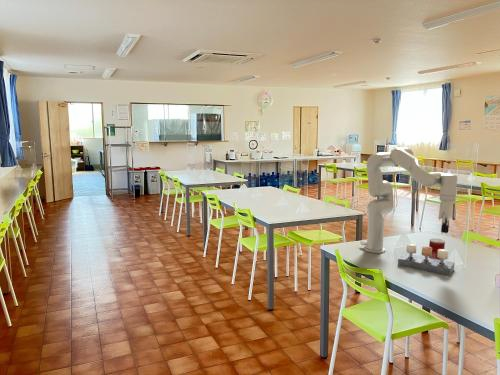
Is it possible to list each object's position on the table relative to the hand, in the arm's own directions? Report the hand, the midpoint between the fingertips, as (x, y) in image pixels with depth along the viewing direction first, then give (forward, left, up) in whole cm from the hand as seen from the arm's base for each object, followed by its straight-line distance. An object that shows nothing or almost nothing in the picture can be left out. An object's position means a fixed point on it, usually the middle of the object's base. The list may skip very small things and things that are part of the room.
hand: (444, 232), depth 216 cm
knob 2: (0, 0, -17) cm, 17 cm away
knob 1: (-16, 0, -17) cm, 23 cm away
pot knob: (-8, 0, -17) cm, 19 cm away
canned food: (-7, +20, -21) cm, 30 cm away
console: (-8, 0, -21) cm, 23 cm away
